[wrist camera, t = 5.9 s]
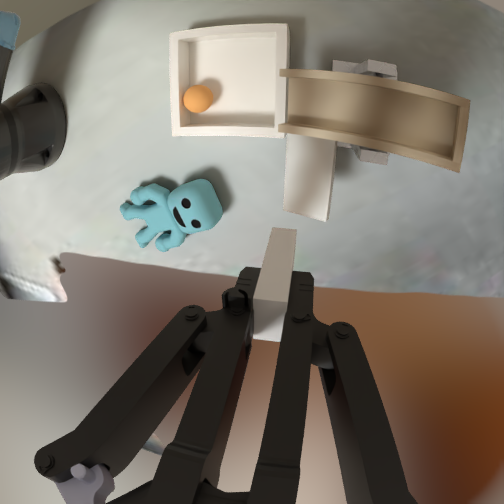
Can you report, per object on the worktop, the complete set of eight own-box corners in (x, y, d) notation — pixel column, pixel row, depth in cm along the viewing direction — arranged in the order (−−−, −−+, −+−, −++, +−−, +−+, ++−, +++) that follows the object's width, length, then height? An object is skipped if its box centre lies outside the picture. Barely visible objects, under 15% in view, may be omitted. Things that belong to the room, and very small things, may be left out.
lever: (286, 207, 29) (274, 216, 27) (292, 71, 22) (279, 68, 20) (432, 250, 22) (431, 264, 20) (464, 101, 15) (470, 100, 13)
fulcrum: (327, 144, 29) (332, 162, 22) (332, 60, 24) (338, 49, 17) (417, 159, 27) (446, 182, 20) (426, 79, 22) (460, 79, 15)
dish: (185, 131, 31) (172, 136, 29) (183, 36, 25) (169, 32, 22) (287, 133, 29) (284, 138, 27) (289, 30, 23) (286, 23, 20)
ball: (216, 112, 27) (210, 110, 30) (215, 83, 25) (210, 84, 28) (185, 115, 26) (182, 113, 29) (184, 85, 24) (181, 86, 27)
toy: (106, 204, 36) (184, 170, 29) (127, 190, 40) (205, 157, 33) (138, 262, 40) (221, 247, 33) (156, 244, 44) (236, 227, 37)
